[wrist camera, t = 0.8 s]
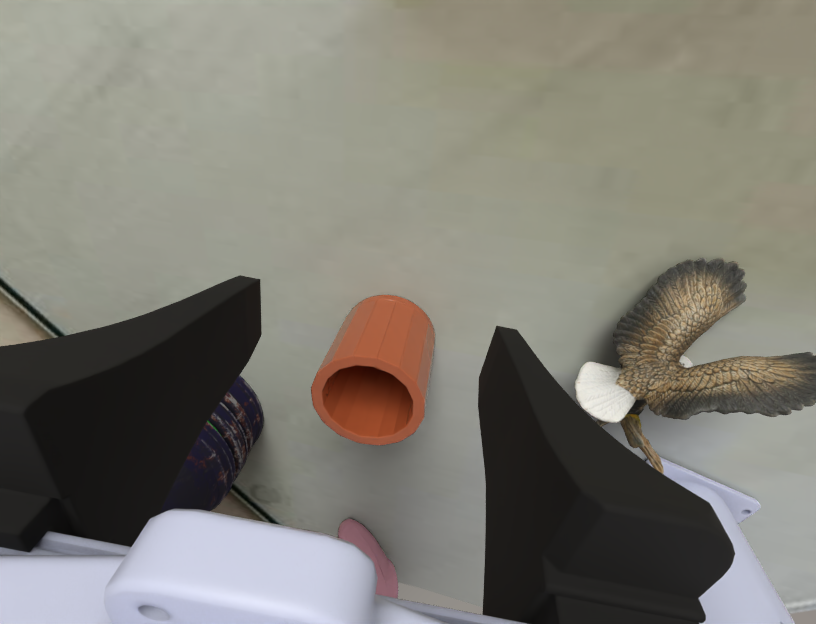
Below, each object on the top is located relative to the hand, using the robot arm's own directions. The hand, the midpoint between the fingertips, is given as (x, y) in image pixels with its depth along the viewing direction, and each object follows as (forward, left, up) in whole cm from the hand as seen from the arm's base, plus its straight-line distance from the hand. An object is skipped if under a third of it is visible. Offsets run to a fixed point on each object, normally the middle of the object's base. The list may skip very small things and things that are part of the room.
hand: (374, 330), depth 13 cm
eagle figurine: (0, -14, -10) cm, 18 cm away
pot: (-7, -1, -10) cm, 12 cm away
